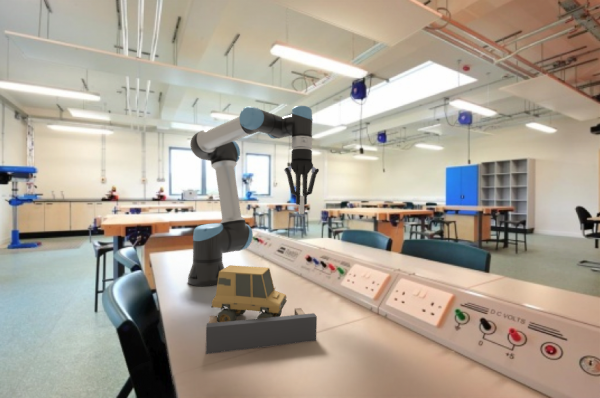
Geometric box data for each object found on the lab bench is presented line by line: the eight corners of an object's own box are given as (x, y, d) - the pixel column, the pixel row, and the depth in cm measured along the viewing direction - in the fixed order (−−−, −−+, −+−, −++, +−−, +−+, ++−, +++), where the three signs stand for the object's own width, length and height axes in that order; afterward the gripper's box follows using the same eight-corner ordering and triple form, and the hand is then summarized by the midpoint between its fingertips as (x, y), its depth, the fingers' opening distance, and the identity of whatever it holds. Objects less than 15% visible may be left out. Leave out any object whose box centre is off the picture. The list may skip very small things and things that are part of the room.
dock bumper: (206, 348, 65) (207, 322, 65) (313, 335, 71) (313, 312, 71) (205, 354, 62) (206, 327, 62) (316, 340, 69) (316, 316, 69)
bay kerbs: (209, 325, 76) (209, 316, 76) (300, 316, 83) (301, 307, 83) (206, 349, 64) (206, 338, 64) (313, 336, 71) (313, 326, 71)
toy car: (278, 335, 72) (279, 277, 72) (209, 328, 75) (210, 272, 75) (286, 318, 82) (287, 267, 82) (225, 312, 85) (226, 263, 85)
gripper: (286, 146, 97) (285, 214, 97) (321, 148, 100) (321, 214, 100) (282, 150, 105) (282, 213, 105) (315, 152, 108) (315, 213, 107)
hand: (301, 213), depth 102 cm, fingers closed
